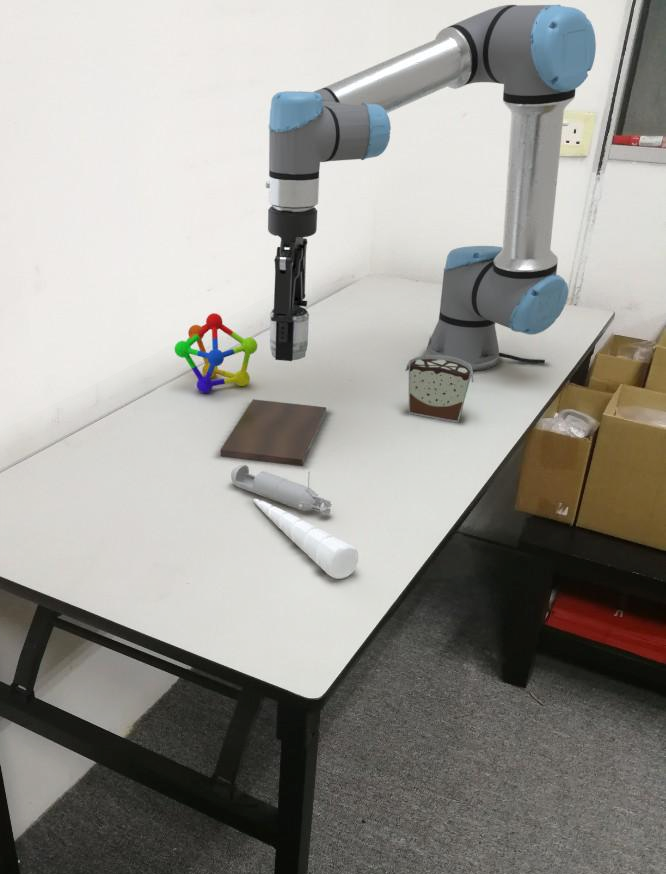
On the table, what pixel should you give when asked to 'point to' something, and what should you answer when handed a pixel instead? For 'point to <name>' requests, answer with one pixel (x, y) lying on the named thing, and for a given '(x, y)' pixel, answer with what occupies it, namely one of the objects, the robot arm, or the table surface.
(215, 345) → the educational toy
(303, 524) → the unicorn horn
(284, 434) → the walnut board
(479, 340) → the robot arm
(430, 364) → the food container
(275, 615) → the table surface
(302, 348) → the camera lens
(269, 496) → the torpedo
